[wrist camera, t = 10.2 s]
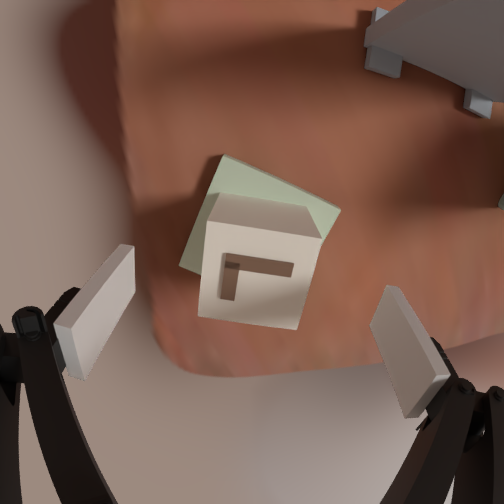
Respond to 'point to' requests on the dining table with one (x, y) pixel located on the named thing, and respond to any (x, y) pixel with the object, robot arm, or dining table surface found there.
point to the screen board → (443, 45)
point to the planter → (501, 202)
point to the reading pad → (259, 186)
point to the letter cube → (257, 261)
